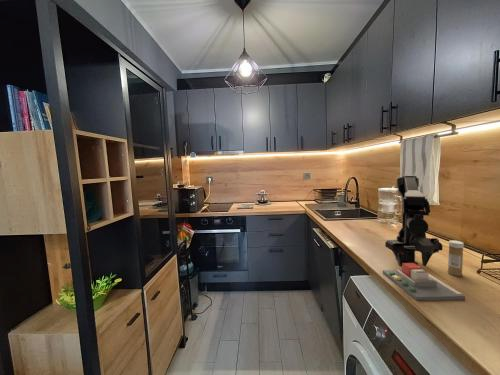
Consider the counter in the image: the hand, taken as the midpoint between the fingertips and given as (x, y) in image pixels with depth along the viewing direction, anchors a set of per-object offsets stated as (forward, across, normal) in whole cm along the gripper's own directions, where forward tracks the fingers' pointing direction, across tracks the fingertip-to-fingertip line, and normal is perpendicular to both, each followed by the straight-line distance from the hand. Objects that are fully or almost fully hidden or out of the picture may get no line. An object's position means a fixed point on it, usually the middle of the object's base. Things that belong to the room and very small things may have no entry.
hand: (412, 266), depth 91 cm
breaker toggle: (+4, -1, -5) cm, 6 cm away
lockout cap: (+4, -1, -1) cm, 4 cm away
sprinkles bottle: (+5, +19, +3) cm, 20 cm away
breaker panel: (+5, -1, -5) cm, 7 cm away
